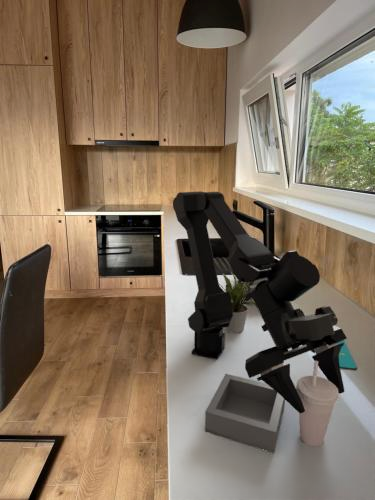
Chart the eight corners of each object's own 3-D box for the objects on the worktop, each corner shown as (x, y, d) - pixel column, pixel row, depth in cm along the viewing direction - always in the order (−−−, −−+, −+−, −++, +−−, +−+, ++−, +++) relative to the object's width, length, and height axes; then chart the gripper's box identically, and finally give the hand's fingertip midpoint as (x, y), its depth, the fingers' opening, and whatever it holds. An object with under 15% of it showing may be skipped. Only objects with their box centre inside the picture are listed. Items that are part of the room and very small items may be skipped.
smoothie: (300, 418, 62) (307, 347, 58) (337, 435, 58) (347, 361, 55) (285, 439, 57) (292, 364, 54) (324, 460, 53) (334, 380, 50)
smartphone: (323, 364, 78) (313, 332, 92) (323, 367, 78) (312, 335, 92) (358, 368, 76) (342, 335, 91) (357, 372, 76) (341, 338, 91)
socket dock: (205, 431, 59) (205, 411, 58) (225, 391, 69) (225, 373, 68) (274, 453, 54) (276, 432, 53) (284, 406, 65) (286, 388, 64)
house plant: (273, 326, 97) (277, 270, 93) (253, 347, 86) (256, 285, 81) (228, 313, 104) (229, 261, 100) (203, 331, 93) (204, 274, 89)
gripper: (260, 303, 50) (315, 414, 44) (343, 282, 59) (398, 371, 53) (227, 330, 59) (268, 427, 52) (303, 308, 68) (347, 388, 61)
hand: (323, 402), depth 55 cm, fingers open, 9 cm apart
